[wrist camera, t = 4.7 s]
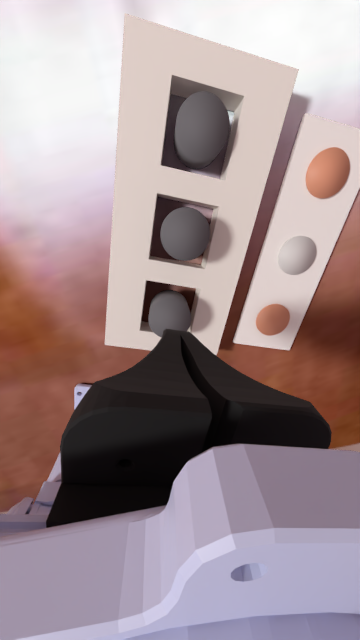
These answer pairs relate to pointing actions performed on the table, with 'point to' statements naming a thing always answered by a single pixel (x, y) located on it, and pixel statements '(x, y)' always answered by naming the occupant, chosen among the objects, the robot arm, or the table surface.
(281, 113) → the button board
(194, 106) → the button outer
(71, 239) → the table surface
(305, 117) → the pattern card
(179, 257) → the button middle
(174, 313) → the button inner
